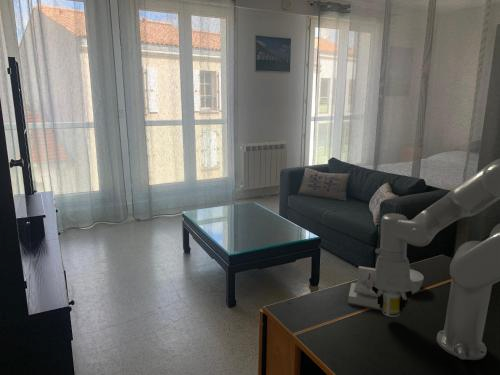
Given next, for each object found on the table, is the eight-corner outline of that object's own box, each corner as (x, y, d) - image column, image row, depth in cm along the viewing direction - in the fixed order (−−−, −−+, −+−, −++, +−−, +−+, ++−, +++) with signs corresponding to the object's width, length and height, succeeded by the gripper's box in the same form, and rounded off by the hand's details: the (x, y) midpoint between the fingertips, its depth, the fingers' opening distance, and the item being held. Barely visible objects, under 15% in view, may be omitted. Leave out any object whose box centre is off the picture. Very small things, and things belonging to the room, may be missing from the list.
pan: (380, 299, 126) (381, 295, 126) (353, 294, 129) (354, 290, 129) (381, 290, 132) (381, 285, 132) (355, 286, 135) (356, 281, 135)
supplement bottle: (402, 312, 120) (404, 283, 118) (395, 319, 116) (396, 290, 114) (386, 306, 123) (387, 279, 121) (378, 313, 119) (379, 285, 117)
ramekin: (383, 283, 144) (384, 271, 143) (404, 277, 149) (405, 265, 148) (407, 297, 134) (409, 284, 133) (428, 290, 139) (430, 277, 138)
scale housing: (385, 311, 126) (388, 283, 123) (347, 303, 130) (349, 277, 127) (385, 296, 135) (388, 270, 132) (350, 289, 139) (352, 264, 137)
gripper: (363, 255, 115) (361, 309, 119) (424, 261, 109) (421, 318, 113) (364, 247, 122) (363, 298, 126) (422, 252, 116) (419, 305, 120)
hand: (391, 307), depth 119 cm, fingers closed on supplement bottle, 5 cm apart
